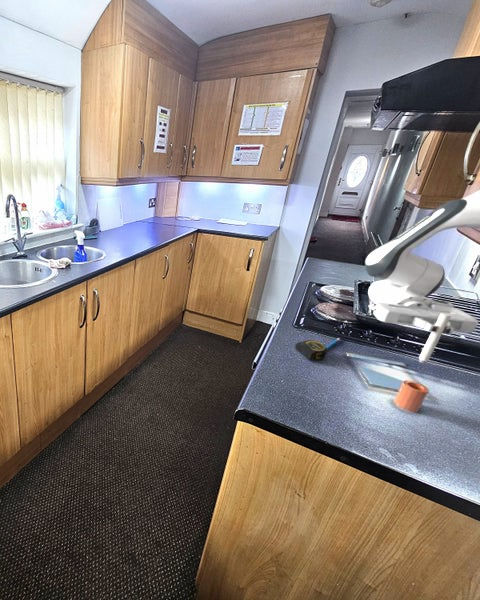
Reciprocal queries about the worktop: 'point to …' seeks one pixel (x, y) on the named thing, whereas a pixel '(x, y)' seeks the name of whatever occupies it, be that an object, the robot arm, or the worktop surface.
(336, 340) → the pencil
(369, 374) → the tablet
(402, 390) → the pen pot
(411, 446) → the worktop surface
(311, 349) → the tape measure
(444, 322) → the stylus
